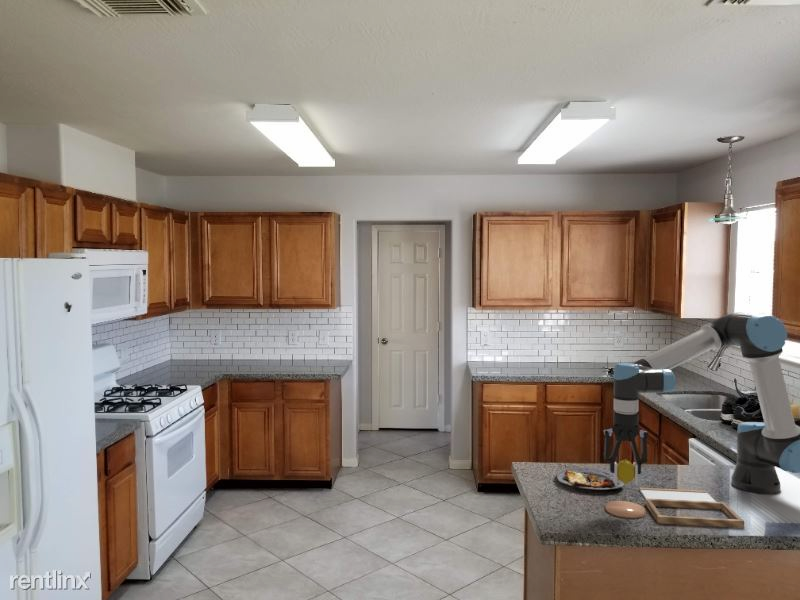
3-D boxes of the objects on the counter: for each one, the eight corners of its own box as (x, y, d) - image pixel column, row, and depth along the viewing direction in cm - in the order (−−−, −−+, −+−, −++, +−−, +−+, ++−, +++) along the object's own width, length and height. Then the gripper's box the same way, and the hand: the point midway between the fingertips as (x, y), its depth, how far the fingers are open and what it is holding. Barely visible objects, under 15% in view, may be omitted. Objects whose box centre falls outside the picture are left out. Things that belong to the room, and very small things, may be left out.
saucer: (640, 504, 194) (640, 501, 194) (649, 519, 182) (649, 516, 182) (602, 502, 196) (602, 499, 196) (609, 517, 184) (609, 513, 184)
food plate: (629, 496, 201) (629, 486, 201) (559, 493, 206) (559, 483, 206) (617, 475, 226) (617, 466, 226) (555, 472, 231) (555, 463, 231)
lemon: (613, 481, 191) (613, 457, 191) (629, 481, 192) (629, 456, 192) (620, 487, 186) (621, 462, 186) (637, 486, 186) (637, 461, 186)
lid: (705, 493, 204) (705, 490, 204) (719, 507, 191) (720, 504, 191) (639, 490, 208) (639, 487, 208) (648, 504, 195) (648, 501, 195)
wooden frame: (723, 507, 191) (723, 501, 191) (744, 527, 176) (744, 521, 175) (644, 503, 195) (644, 497, 195) (658, 523, 179) (658, 516, 179)
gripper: (653, 410, 191) (652, 480, 191) (593, 408, 193) (593, 477, 194) (659, 415, 183) (658, 488, 184) (597, 413, 186) (597, 485, 187)
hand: (625, 483), depth 189 cm, fingers closed on lemon, 5 cm apart
